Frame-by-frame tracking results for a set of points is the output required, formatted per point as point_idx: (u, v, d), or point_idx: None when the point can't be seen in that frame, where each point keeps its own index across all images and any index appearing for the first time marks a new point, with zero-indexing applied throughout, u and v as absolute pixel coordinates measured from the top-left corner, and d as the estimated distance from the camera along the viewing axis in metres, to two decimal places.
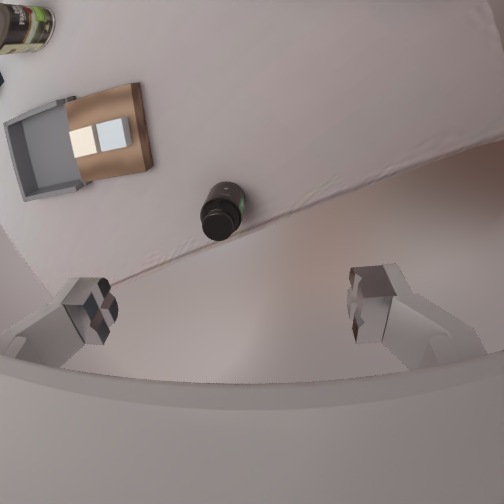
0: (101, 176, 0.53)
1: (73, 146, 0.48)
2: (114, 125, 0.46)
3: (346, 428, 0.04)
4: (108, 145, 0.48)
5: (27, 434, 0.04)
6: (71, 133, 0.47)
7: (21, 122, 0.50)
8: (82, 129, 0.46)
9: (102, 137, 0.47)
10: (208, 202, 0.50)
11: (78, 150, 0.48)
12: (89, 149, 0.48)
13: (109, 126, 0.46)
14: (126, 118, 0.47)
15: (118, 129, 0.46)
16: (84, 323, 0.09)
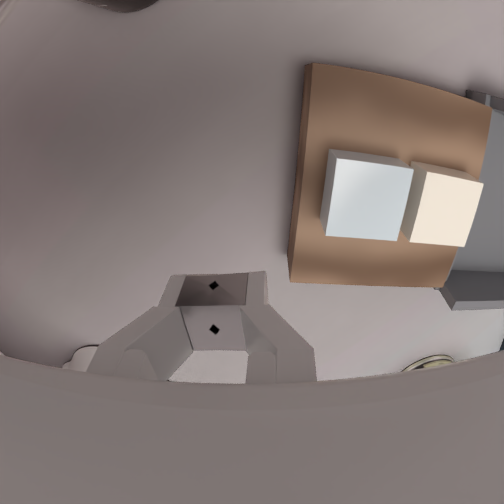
0: (443, 96, 0.17)
1: (472, 211, 0.18)
2: (350, 223, 0.19)
3: (346, 428, 0.04)
4: (388, 179, 0.18)
5: (28, 434, 0.04)
6: (461, 241, 0.20)
7: None
8: (433, 241, 0.20)
9: (393, 205, 0.18)
10: None
11: (467, 197, 0.18)
12: (441, 187, 0.18)
13: (364, 225, 0.19)
14: (321, 217, 0.21)
15: (343, 210, 0.19)
16: (202, 326, 0.09)
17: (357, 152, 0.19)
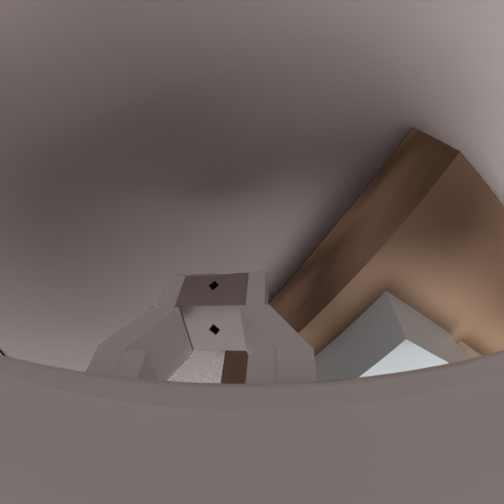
0: None
1: None
2: None
3: (346, 428, 0.04)
4: None
5: (28, 434, 0.04)
6: None
7: None
8: None
9: None
10: None
11: None
12: None
13: None
14: None
15: None
16: (202, 327, 0.09)
17: (416, 311, 0.12)
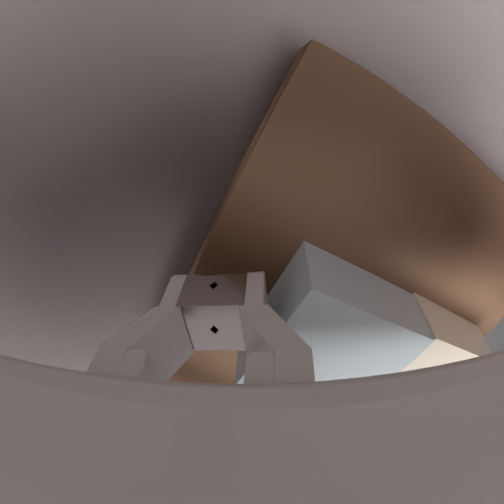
0: None
1: None
2: None
3: (346, 428, 0.04)
4: (385, 345, 0.09)
5: (28, 434, 0.04)
6: None
7: None
8: None
9: None
10: None
11: None
12: (441, 362, 0.10)
13: None
14: None
15: None
16: (203, 327, 0.09)
17: (352, 264, 0.11)
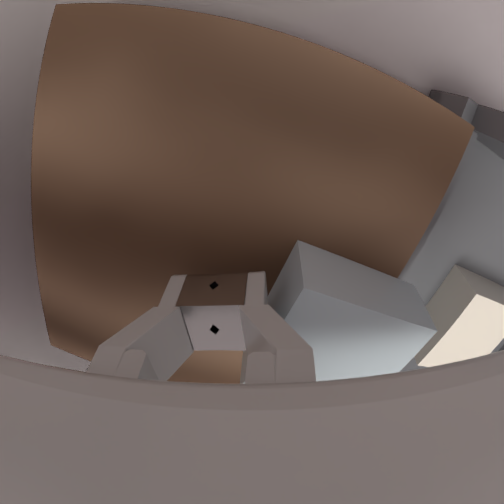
0: (342, 70, 0.07)
1: None
2: None
3: (346, 428, 0.04)
4: (386, 339, 0.09)
5: (28, 434, 0.04)
6: None
7: None
8: None
9: (374, 374, 0.10)
10: None
11: None
12: None
13: None
14: None
15: None
16: (202, 327, 0.09)
17: (348, 260, 0.10)
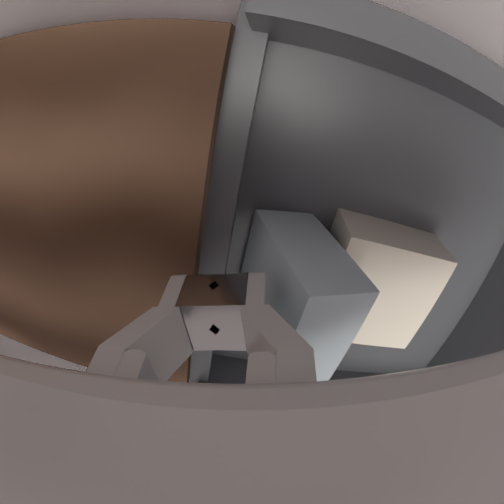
0: (78, 36, 0.07)
1: None
2: None
3: (346, 428, 0.04)
4: None
5: (28, 434, 0.04)
6: None
7: None
8: None
9: None
10: None
11: None
12: None
13: None
14: None
15: None
16: (202, 327, 0.09)
17: (285, 255, 0.10)
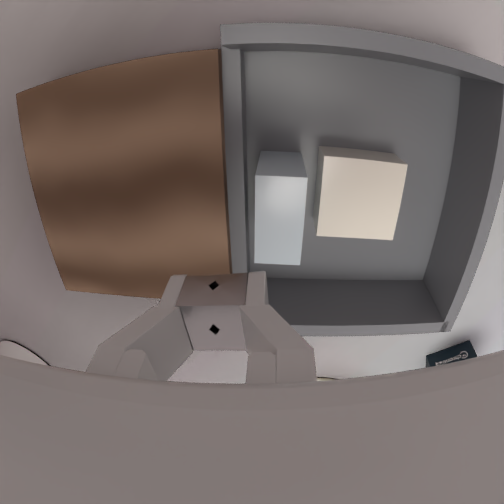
0: (132, 67, 0.14)
1: None
2: None
3: (346, 428, 0.04)
4: None
5: (27, 434, 0.04)
6: None
7: (424, 278, 0.23)
8: None
9: None
10: None
11: None
12: None
13: None
14: (263, 257, 0.17)
15: None
16: (202, 327, 0.09)
17: (258, 164, 0.17)
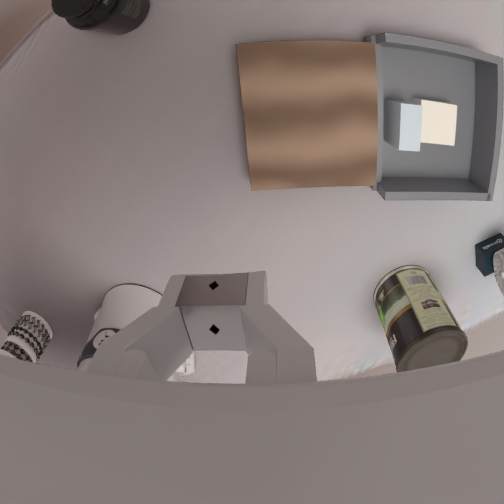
0: (330, 44, 0.26)
1: None
2: None
3: (346, 428, 0.04)
4: None
5: (27, 434, 0.04)
6: None
7: (469, 177, 0.34)
8: None
9: None
10: (105, 17, 0.21)
11: None
12: None
13: None
14: (403, 147, 0.29)
15: None
16: (202, 327, 0.09)
17: (394, 101, 0.28)
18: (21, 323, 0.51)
